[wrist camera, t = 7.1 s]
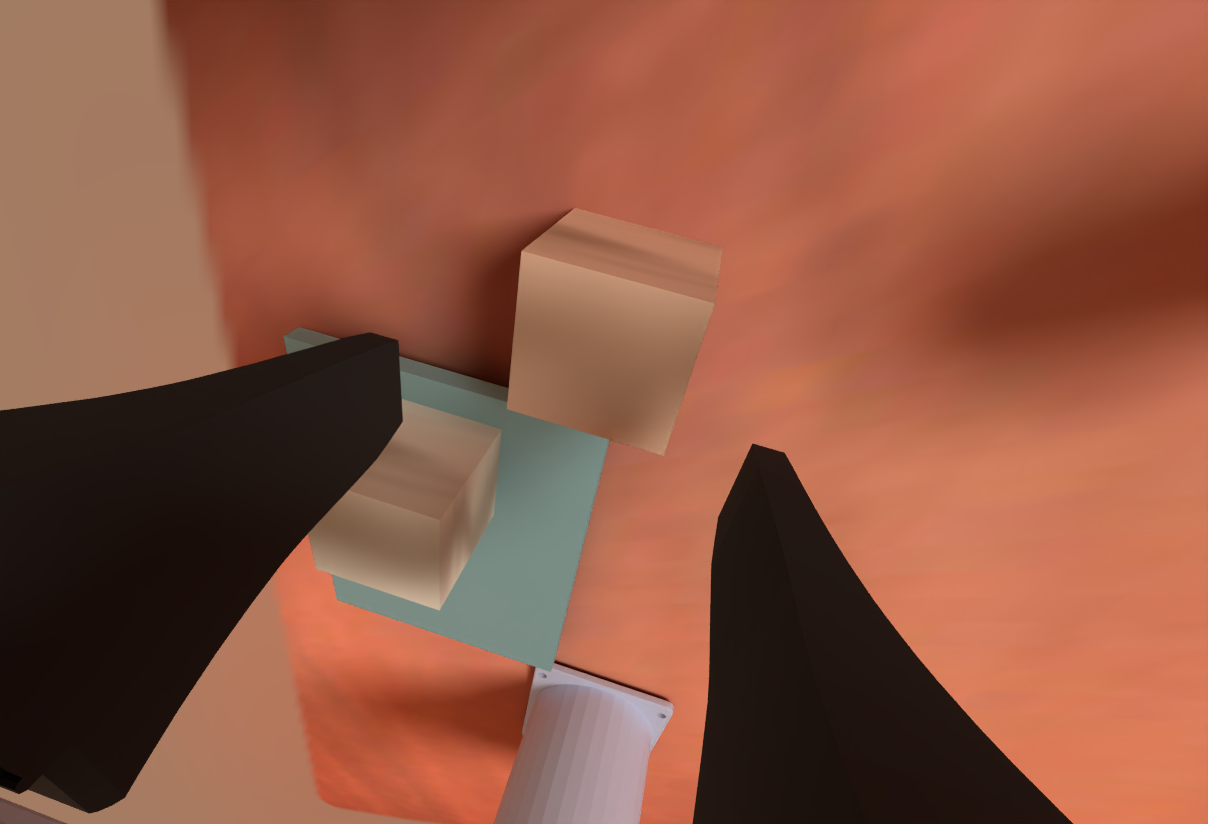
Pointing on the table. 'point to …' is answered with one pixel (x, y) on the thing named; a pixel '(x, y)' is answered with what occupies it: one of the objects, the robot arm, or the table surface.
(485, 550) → the teal board
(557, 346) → the brown block
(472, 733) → the table surface
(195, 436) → the robot arm
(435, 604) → the cream block
